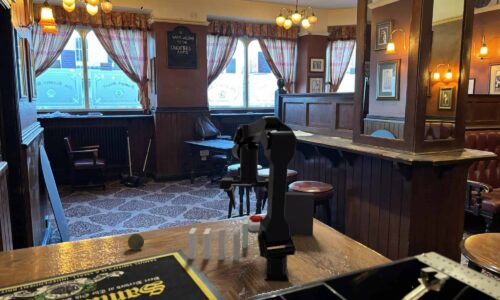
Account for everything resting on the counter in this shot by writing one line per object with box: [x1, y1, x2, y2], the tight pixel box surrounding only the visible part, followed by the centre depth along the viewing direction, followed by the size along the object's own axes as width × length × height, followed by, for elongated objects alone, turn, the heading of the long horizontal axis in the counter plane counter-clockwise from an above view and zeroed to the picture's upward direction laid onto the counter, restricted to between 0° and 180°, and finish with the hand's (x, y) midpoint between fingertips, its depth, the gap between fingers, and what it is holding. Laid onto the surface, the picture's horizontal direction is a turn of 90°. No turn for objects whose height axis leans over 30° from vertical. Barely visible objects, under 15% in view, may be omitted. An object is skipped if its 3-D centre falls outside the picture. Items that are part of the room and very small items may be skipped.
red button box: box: [242, 214, 264, 232], centre depth 146 cm, size 12×4×10 cm
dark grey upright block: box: [284, 191, 315, 237], centre depth 137 cm, size 11×4×15 cm, turn 84°
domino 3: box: [217, 228, 227, 261], centre depth 117 cm, size 5×2×8 cm, turn 177°
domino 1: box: [188, 227, 198, 260], centre depth 117 cm, size 5×2×8 cm, turn 177°
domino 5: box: [241, 219, 249, 249], centre depth 126 cm, size 5×2×8 cm, turn 177°
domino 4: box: [232, 228, 241, 261], centre depth 116 cm, size 5×2×8 cm, turn 177°
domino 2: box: [202, 227, 212, 260], centre depth 117 cm, size 5×2×8 cm, turn 177°
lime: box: [127, 233, 145, 251], centre depth 122 cm, size 4×5×5 cm
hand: (248, 209), depth 126 cm, fingers open, 9 cm apart
